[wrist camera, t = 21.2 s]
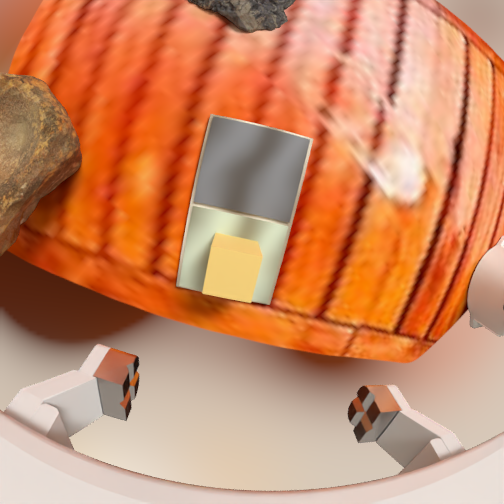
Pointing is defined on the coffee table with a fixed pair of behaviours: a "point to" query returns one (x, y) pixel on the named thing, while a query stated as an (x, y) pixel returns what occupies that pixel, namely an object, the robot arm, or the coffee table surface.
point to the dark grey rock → (250, 12)
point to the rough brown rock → (31, 150)
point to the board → (244, 197)
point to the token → (232, 268)
